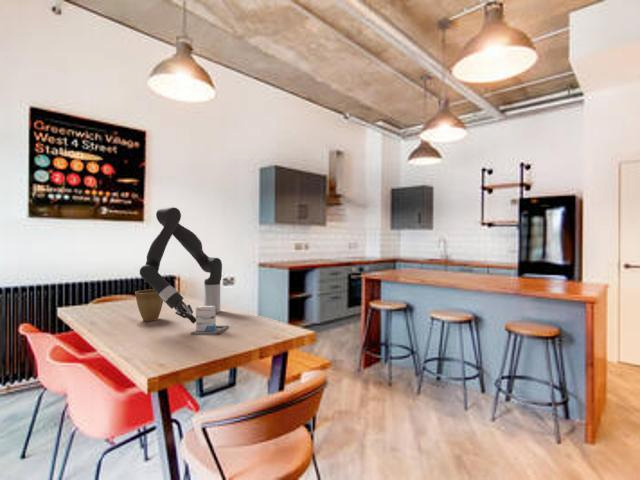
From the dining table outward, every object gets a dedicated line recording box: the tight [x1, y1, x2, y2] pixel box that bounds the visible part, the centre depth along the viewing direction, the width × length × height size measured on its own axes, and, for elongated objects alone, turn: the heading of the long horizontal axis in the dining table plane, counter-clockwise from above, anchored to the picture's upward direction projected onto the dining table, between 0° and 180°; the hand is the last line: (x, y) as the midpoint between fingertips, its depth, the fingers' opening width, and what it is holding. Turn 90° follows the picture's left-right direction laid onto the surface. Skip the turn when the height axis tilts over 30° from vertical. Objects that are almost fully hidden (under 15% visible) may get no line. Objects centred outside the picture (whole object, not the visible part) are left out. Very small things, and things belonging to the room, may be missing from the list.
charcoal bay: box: [190, 325, 229, 336], centre depth 178 cm, size 14×14×1 cm
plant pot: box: [134, 288, 164, 322], centre depth 200 cm, size 15×15×16 cm
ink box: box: [195, 305, 217, 332], centre depth 179 cm, size 8×5×12 cm, turn 89°
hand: (195, 321), depth 178 cm, fingers closed
